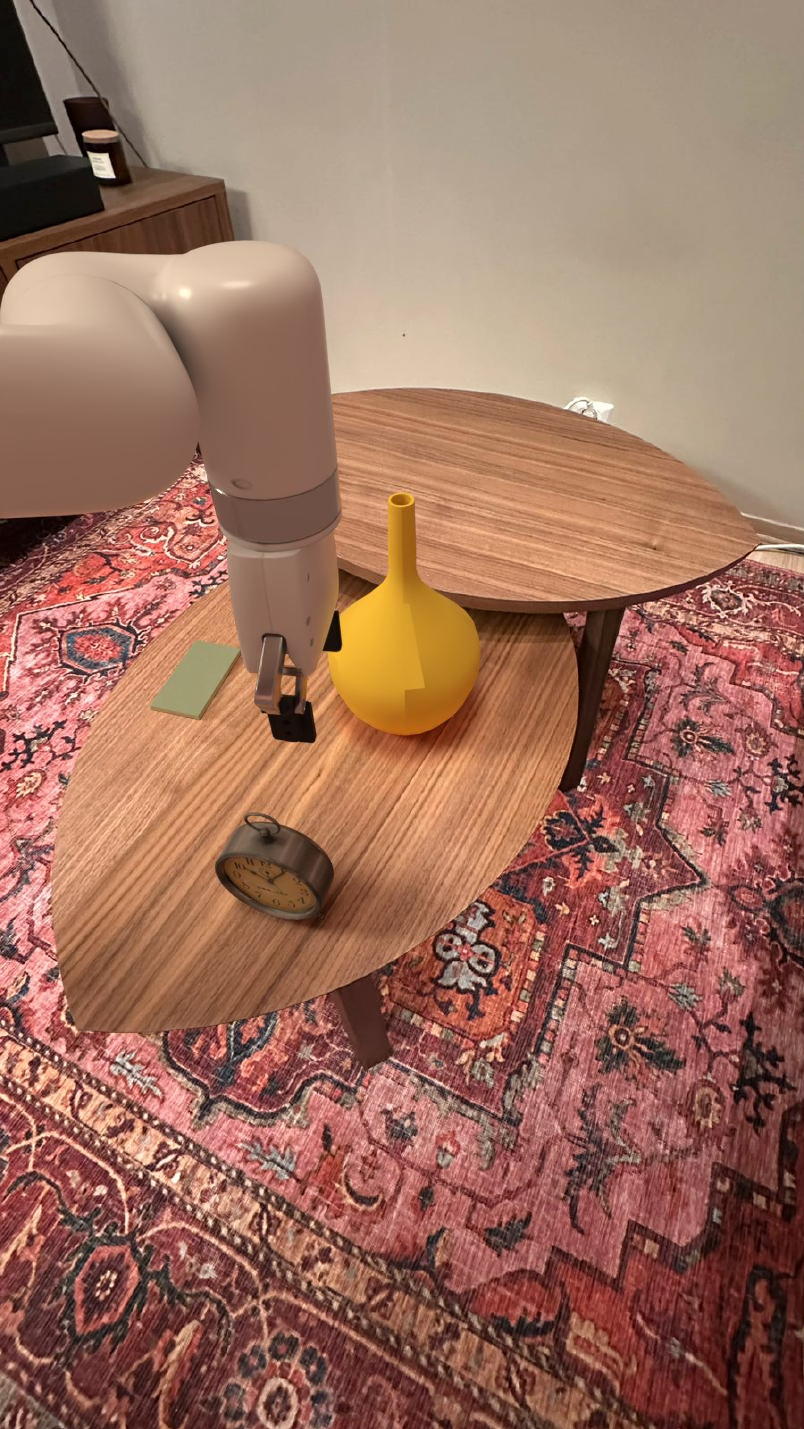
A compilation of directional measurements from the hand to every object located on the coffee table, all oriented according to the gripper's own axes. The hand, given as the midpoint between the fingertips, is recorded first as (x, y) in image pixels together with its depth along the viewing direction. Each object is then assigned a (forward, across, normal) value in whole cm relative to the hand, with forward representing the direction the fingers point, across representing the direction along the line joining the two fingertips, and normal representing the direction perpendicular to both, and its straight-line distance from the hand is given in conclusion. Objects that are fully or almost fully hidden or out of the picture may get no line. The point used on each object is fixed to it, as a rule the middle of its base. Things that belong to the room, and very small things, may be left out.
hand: (310, 690), depth 54 cm
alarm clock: (+27, +5, -4) cm, 28 cm away
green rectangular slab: (+27, -25, -24) cm, 44 cm away
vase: (+27, -24, +4) cm, 36 cm away
